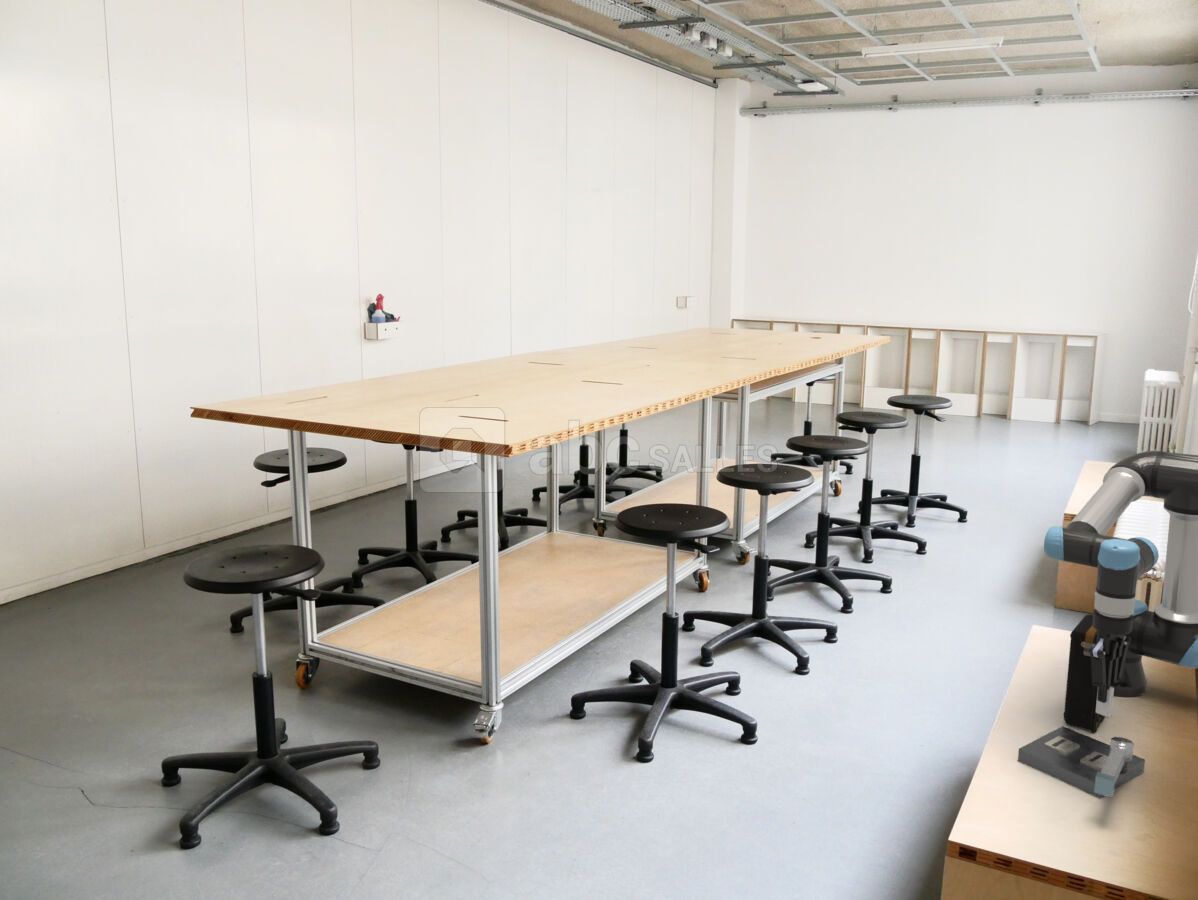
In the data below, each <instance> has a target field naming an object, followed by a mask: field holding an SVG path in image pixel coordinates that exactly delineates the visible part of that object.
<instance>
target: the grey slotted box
mask: <svg viewBox="0 0 1198 900" xmlns="http://www.w3.org/2000/svg"><path fill="white" fill-rule="evenodd" d="M1109 752H1110V744H1107V743H1106V742H1103V741H1100V740H1098V739H1096V738H1093V737H1091V736H1088V735H1086V734H1083V733H1081V732H1078V731H1076V730H1074V729H1071V728H1069V727H1066V726H1064V725H1062V726H1060V727H1057V728H1056V729H1053V730H1052V731H1050V732H1048V733H1046V734H1044V735H1042V736H1040V737H1039V738H1036V739H1035V740H1033V741H1031V742H1029V743H1027V744H1025V745H1023V746H1021V747H1019V748H1018V754H1017V755H1018V756H1017V761H1018V762H1020V763H1022V764H1024V765H1026V766H1028V767H1031V768H1032V769H1035V770H1038V771H1039V772H1041V773H1044V774H1046V775H1048V776H1050V777H1053V778H1055V779H1057V780H1059V781H1061V782H1063V783H1066V784H1069V785H1070V786H1072V787H1074V788H1076V789H1079V790H1082V791H1084V792H1086V793H1088V794H1090V795H1093V796H1094V797H1097V798H1099V799H1102V798H1104V797H1106V796H1105V795H1102V794H1098V793H1095V792H1094V789H1095V779H1096V775H1097V773H1098V772H1100V773H1101V771H1102V769H1103V767H1104V764H1105V762H1106V760H1107V758H1108V756H1109ZM1145 762H1146V760H1145V758H1143V757H1141V756H1137V755H1136V754H1133V757H1132V760H1131V761H1128V762H1125V763H1124V765H1123V767H1122V769H1121V772H1120V774H1119V776H1118V778H1117V781H1116V783H1115V786H1114V791H1115V790H1118V788H1120V787H1122V786H1123V785H1125V784H1127V783H1128V782H1130V781H1132V780H1133V779H1134V778H1136V777H1137V776H1139V775H1141V774H1142V773H1144V771H1145Z"/></svg>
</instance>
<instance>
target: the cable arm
mask: <svg viewBox="0 0 1198 900" xmlns="http://www.w3.org/2000/svg"><path fill="white" fill-rule="evenodd" d="M1134 744H1135V743H1134V742H1133V741H1132V740H1130V738H1126V737H1122V736H1113V737H1111V738H1110V743H1109V745H1110V752H1109V756H1108V758H1107V760H1106V762H1105V764H1104V767H1103V769H1102V771H1101V773H1100V772H1098V773H1097V775H1096V779H1095V789H1094V792H1095V793H1098V794H1102V795H1105V796H1104V797H1109V798H1113V795H1114V794H1115V790H1114V786H1115V783H1116V781H1117V778H1118V776H1119V774H1120V772H1121V769H1122V767H1123V765H1124V763H1125V762H1128V761H1131V760H1132V757H1133V755H1134V749H1135V748H1134V746H1135V745H1134Z"/></svg>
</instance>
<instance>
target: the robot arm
mask: <svg viewBox="0 0 1198 900" xmlns="http://www.w3.org/2000/svg"><path fill="white" fill-rule="evenodd" d="M1142 497H1151V498H1155V499H1160V500H1161V499H1162V500H1163V509H1164V510H1165V511H1166V512H1167V513H1168V514H1169V521H1168V522H1169V523H1168V533H1167V543H1166V544H1167V545H1166V553H1165V554H1166V555H1165V564H1164V565H1165V567H1164V574H1163V575H1164V576H1163V577H1164V578H1163V585H1162V586H1163V587H1162V588H1163V589H1162V598H1161V603H1160V604H1158V605H1157V606H1155V607H1154V608H1153V611H1150V610H1149V609H1148V608H1149V607H1148V605H1147V603H1146V602H1144V601H1142V600H1138V599H1136V594H1137V593H1136V592H1137V586H1138V578H1139V577H1141V576H1143V575H1144V574H1147V573H1148V572H1150V571H1151V570H1152V569H1153V567H1155V565H1156V564H1157V563H1158V560H1159V558H1160V557H1159V549H1158V548H1157V546H1156V545H1155V543H1154V542H1153V541H1151V540H1150V539H1148V538H1146V537H1142V536H1135V537H1130V538H1122V537H1115V536H1110V535H1107V533H1109V531H1110V529H1111V528H1112V527H1113V526H1114V525H1115V524H1116V522H1117V521H1118V520H1119V518H1120V517H1121V515H1123V513H1124V512H1125V511H1126V509H1128V507H1129V506H1130V504H1131V503H1133V502H1137V501H1138V500H1140V499H1141V498H1142ZM1043 540H1044V542H1043V548H1044V549H1043V550H1044V553H1045V555H1046V556H1047V558H1052V559H1055V560H1058V561H1061V562H1067V563H1072V564H1077V565H1081V566H1082V565H1083V566H1087V567H1092V568H1096V569H1097V571H1096V585H1095V592H1094V593H1093V595H1094V605H1093V607H1094V610H1093V614H1092V615H1093V623H1092V625H1093V627H1094V628H1095V629H1096V630H1097V631H1098V632H1099V634H1098V637H1097V645H1096V647H1095V648H1093V647H1090V649H1089V653H1090V656H1091V669H1092V685H1094V686H1097V687H1098V692H1097V703H1096V713H1098V714H1101V715H1103V716H1105V718H1109V717H1111V716H1112V712H1113V705H1114V703H1113V702H1114V696H1116V697H1123V698H1124V697H1125V698H1127V697H1129V698H1131V697H1139V696H1141V695H1144V694H1145V693H1147V687H1148V685H1147V684H1148V681H1147V678H1146V674H1145V669H1144V666H1143V662H1142V659H1143V656H1144V657H1147V658H1151V659H1155V660H1159V661H1161V662H1165V663H1170V664H1174V665H1176V666H1178V667H1181V666H1182V667H1186V668H1190V669H1198V454H1191V453H1190V454H1189V453H1179V452H1170V451H1163V450H1147V451H1140V452H1138V453H1134V454H1132V455H1130V456H1126V457H1125V458H1123V459H1121V460H1120V461H1117V462H1116V463H1115V464H1114V465H1112V466H1111V467H1110V468H1109V469H1108V471H1107V472H1106V473H1105V474H1104V476H1103V479H1102V484H1101V486H1099V488H1098V489H1097V490H1096V492H1095V493H1094V494H1093V495H1092V496H1091V497H1090V498H1089V500H1088V501H1087V502H1086V503H1085V505H1084V506H1083V507H1082V508H1081V509H1080V511H1078V513H1077V514H1076V515H1075V516H1074V518H1073V519H1072V520H1071V522H1069V523H1068V525H1067V526H1066V527H1064V526H1051V527H1050V528H1048V530H1047V532H1046V533H1045V535H1044V539H1043Z"/></svg>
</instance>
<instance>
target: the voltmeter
mask: <svg viewBox="0 0 1198 900" xmlns="http://www.w3.org/2000/svg"><path fill="white" fill-rule="evenodd" d="M1092 623H1093V614H1091V613H1089V614H1086V615H1085V616H1084V617H1082V619H1081V620H1080V621H1079V623H1078V624H1077V625H1075V627H1074V628H1073V629H1072V631H1071V632H1070V634H1069V635H1070V642H1069V643H1070V644H1069V645H1070V646H1069V654H1068V665H1067V666H1068V667H1067V677H1066V686H1065V687H1066V688H1065V697H1064V710H1063V713H1062V714H1063V721H1064V723H1065V724H1066V725H1068V726H1072V727H1076V728H1078V729H1082V730H1087V731H1090V733H1096V732H1097V731H1098V729H1099V727H1100V726H1101V724H1102V723H1103V721H1104V720H1105V718H1106V716H1103V715H1101V714H1098V713H1096V703H1097V692H1098V687H1097V686H1094V685H1092V669H1091V656H1090V653H1089V649H1090V647H1093V648H1095V647H1096V645H1097V637H1098V634H1099V632H1098V631H1097V630H1096V629H1095V628H1094V627H1093V625H1092Z"/></svg>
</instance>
